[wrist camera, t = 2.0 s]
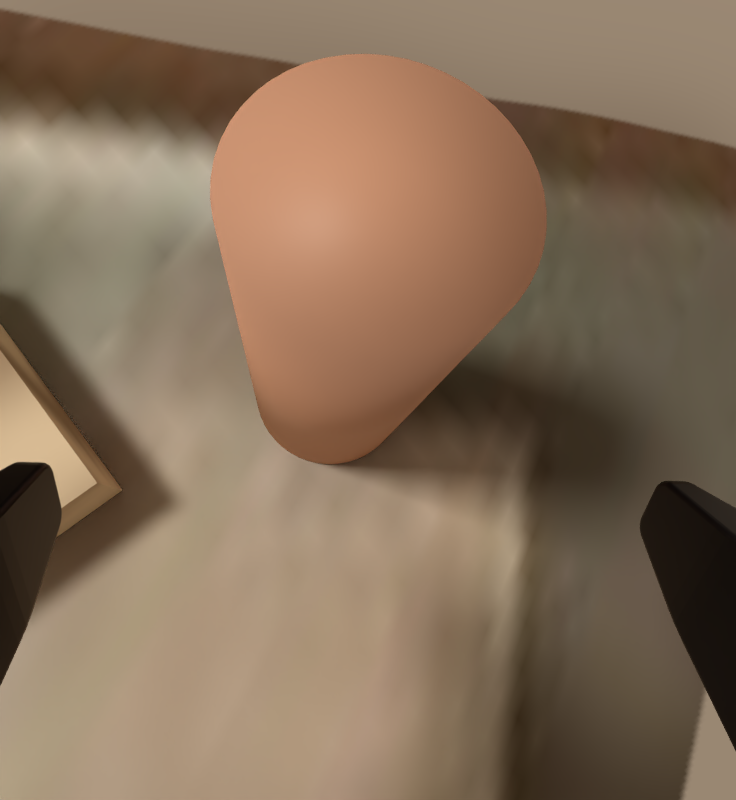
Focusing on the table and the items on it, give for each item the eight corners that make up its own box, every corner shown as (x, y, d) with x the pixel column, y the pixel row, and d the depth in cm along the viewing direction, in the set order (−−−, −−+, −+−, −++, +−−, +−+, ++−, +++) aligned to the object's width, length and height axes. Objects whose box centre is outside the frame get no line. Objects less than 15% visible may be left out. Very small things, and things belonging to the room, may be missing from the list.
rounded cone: (401, 466, 20) (556, 366, 8) (252, 461, 19) (195, 346, 8) (401, 328, 21) (537, 74, 10) (261, 319, 20) (224, 34, 9)
